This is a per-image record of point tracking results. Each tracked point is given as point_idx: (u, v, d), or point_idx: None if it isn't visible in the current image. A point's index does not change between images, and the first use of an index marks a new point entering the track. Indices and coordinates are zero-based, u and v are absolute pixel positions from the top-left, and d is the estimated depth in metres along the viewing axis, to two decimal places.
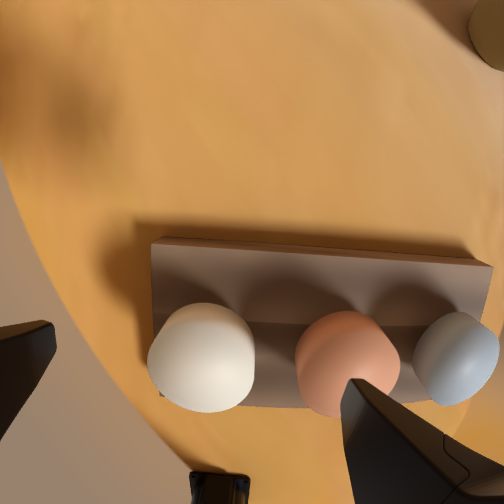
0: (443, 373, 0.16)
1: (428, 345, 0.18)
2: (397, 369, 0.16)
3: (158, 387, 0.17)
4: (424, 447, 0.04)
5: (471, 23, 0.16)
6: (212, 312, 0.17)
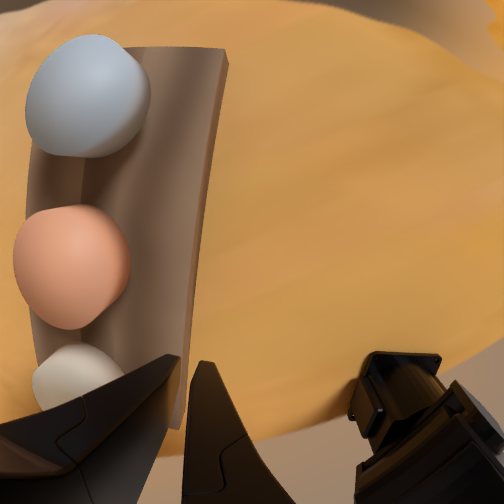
0: (63, 135, 0.12)
1: None
2: (45, 213, 0.13)
3: None
4: (198, 440, 0.04)
5: None
6: None
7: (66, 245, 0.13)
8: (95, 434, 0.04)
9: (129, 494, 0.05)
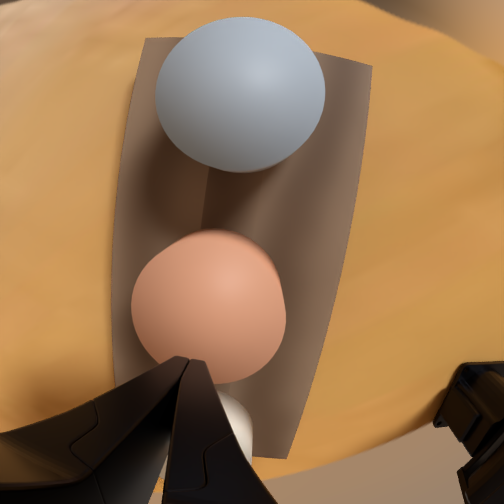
0: (229, 143, 0.10)
1: None
2: (198, 245, 0.11)
3: None
4: (183, 437, 0.04)
5: None
6: None
7: (231, 287, 0.11)
8: (109, 439, 0.04)
9: (140, 497, 0.05)
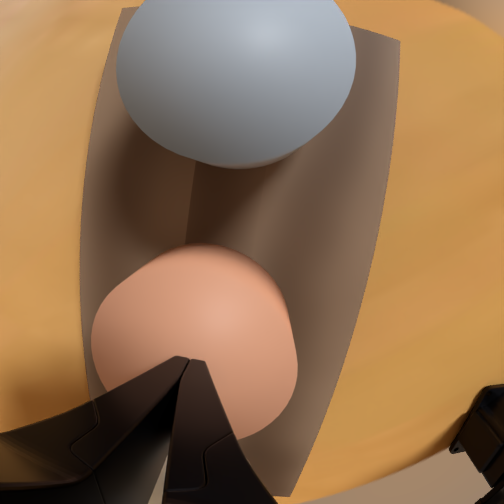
0: (218, 123, 0.07)
1: None
2: (173, 272, 0.08)
3: None
4: (183, 437, 0.04)
5: None
6: None
7: (221, 330, 0.08)
8: (109, 439, 0.04)
9: (140, 497, 0.05)
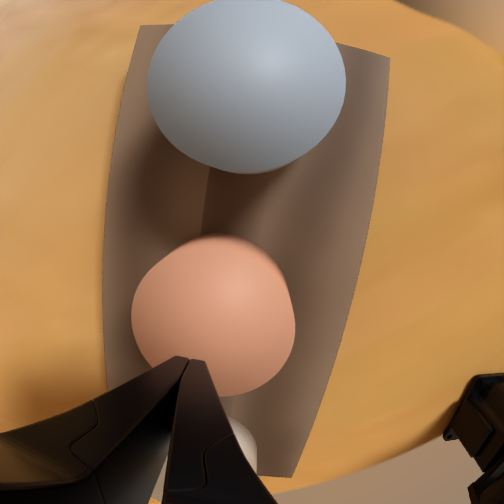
0: (234, 139, 0.09)
1: None
2: (202, 252, 0.10)
3: None
4: (183, 437, 0.04)
5: None
6: None
7: (237, 296, 0.11)
8: (109, 438, 0.04)
9: (140, 497, 0.05)
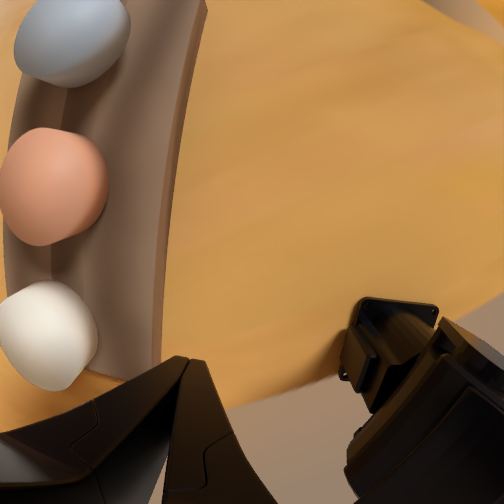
0: (45, 58, 0.10)
1: (45, 81, 0.12)
2: (33, 132, 0.12)
3: (58, 389, 0.14)
4: (183, 438, 0.04)
5: None
6: None
7: (49, 158, 0.13)
8: (109, 439, 0.04)
9: (140, 497, 0.05)
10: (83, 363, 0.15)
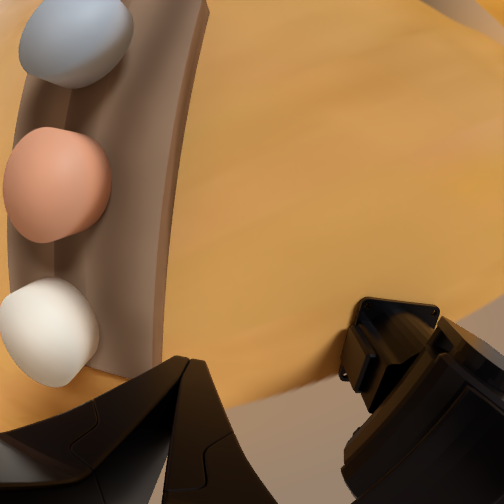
0: (50, 59, 0.11)
1: (49, 81, 0.13)
2: (37, 131, 0.13)
3: (59, 385, 0.15)
4: (183, 437, 0.04)
5: None
6: None
7: (52, 157, 0.13)
8: (109, 439, 0.04)
9: (140, 497, 0.05)
10: (84, 359, 0.15)
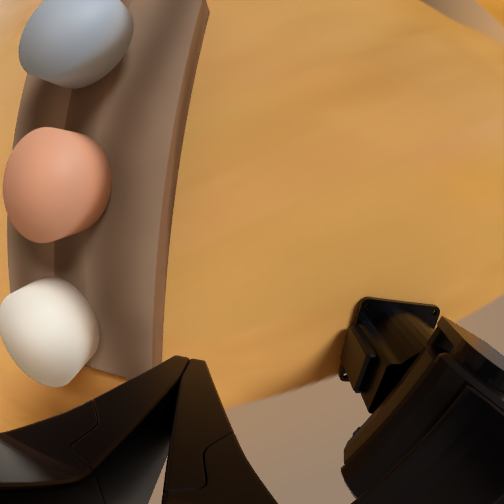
0: (50, 59, 0.11)
1: (49, 81, 0.13)
2: (37, 131, 0.13)
3: (59, 385, 0.15)
4: (183, 437, 0.04)
5: None
6: None
7: (52, 157, 0.13)
8: (109, 439, 0.04)
9: (140, 497, 0.05)
10: (84, 359, 0.15)
